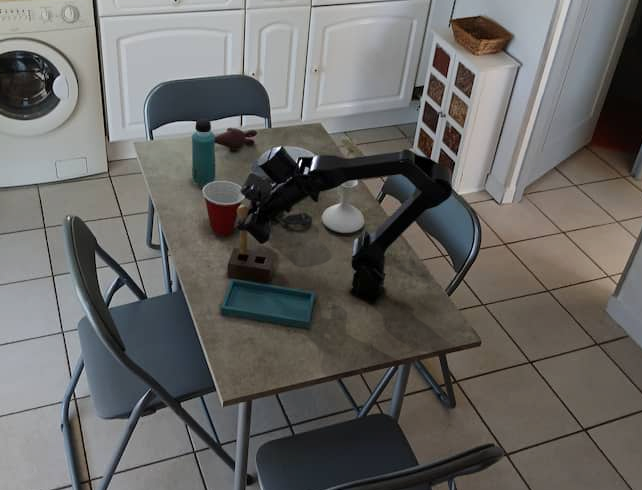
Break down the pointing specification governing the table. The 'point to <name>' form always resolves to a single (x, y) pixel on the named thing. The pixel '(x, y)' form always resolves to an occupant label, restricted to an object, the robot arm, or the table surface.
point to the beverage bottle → (203, 153)
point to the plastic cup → (222, 205)
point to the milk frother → (303, 216)
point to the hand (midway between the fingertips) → (238, 226)
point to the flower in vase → (345, 202)
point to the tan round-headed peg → (242, 214)
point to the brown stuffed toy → (235, 138)
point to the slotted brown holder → (251, 266)
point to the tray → (268, 303)
